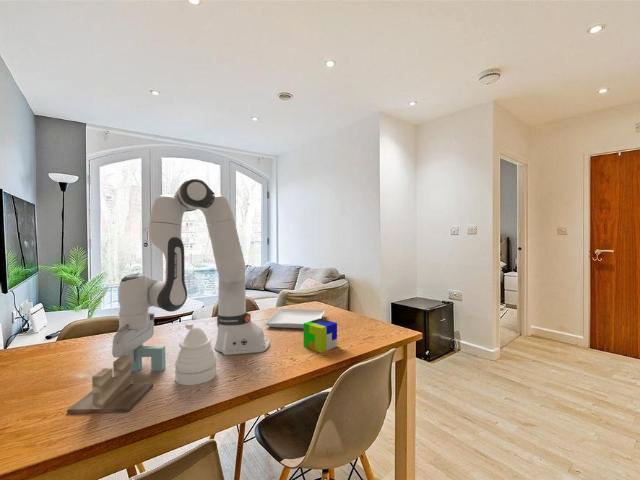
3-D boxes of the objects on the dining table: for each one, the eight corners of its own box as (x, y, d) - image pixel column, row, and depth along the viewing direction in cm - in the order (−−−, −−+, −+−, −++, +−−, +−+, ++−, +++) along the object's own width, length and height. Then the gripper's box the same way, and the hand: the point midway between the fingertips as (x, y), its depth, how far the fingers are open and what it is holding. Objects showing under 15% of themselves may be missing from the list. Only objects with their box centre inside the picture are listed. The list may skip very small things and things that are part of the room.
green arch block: (165, 367, 113) (165, 345, 113) (162, 370, 111) (162, 348, 110) (131, 368, 113) (130, 346, 112) (127, 371, 110) (126, 348, 110)
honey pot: (175, 388, 99) (174, 331, 98) (175, 371, 111) (175, 320, 110) (218, 380, 104) (217, 326, 103) (214, 364, 116) (213, 316, 115)
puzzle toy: (337, 346, 134) (337, 323, 134) (320, 353, 127) (321, 328, 127) (319, 340, 141) (319, 318, 141) (303, 346, 134) (303, 323, 133)
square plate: (278, 314, 184) (278, 308, 184) (325, 316, 180) (325, 309, 180) (264, 329, 157) (264, 321, 157) (318, 332, 153) (318, 324, 153)
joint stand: (153, 386, 100) (152, 355, 100) (128, 412, 86) (127, 375, 86) (101, 387, 99) (100, 355, 99) (67, 413, 85) (66, 376, 85)
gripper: (126, 330, 101) (127, 373, 101) (156, 312, 121) (157, 348, 122) (105, 330, 100) (106, 373, 101) (140, 313, 121) (140, 348, 121)
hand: (134, 359), depth 111 cm, fingers closed on green arch block, 2 cm apart
